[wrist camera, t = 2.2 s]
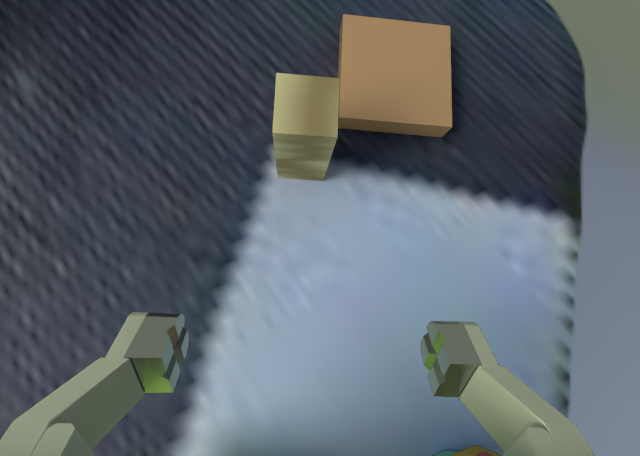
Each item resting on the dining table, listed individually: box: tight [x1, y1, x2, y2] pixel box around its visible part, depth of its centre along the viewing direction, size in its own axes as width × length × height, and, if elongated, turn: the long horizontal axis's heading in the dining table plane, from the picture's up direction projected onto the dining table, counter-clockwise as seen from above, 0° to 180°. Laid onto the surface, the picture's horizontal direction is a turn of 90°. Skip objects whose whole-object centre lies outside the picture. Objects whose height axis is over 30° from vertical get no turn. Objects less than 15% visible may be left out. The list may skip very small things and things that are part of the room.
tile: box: [338, 14, 452, 137], centre depth 31 cm, size 10×10×2 cm
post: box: [272, 73, 339, 181], centre depth 25 cm, size 4×4×9 cm
